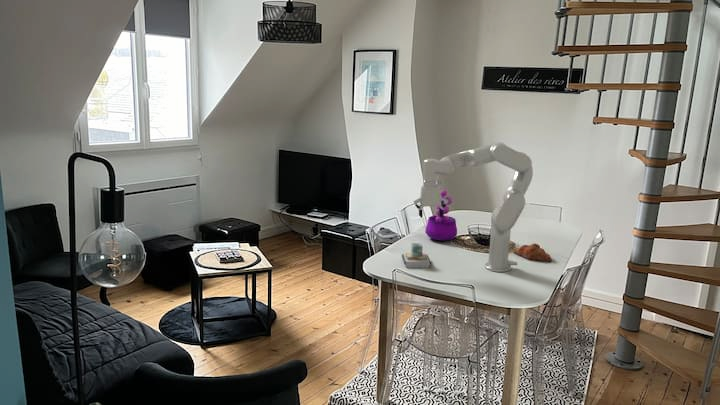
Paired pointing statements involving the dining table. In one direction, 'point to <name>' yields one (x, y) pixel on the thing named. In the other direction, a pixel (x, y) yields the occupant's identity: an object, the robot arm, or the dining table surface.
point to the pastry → (532, 253)
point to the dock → (416, 262)
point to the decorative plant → (442, 223)
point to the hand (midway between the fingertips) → (430, 216)
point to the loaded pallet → (416, 252)
